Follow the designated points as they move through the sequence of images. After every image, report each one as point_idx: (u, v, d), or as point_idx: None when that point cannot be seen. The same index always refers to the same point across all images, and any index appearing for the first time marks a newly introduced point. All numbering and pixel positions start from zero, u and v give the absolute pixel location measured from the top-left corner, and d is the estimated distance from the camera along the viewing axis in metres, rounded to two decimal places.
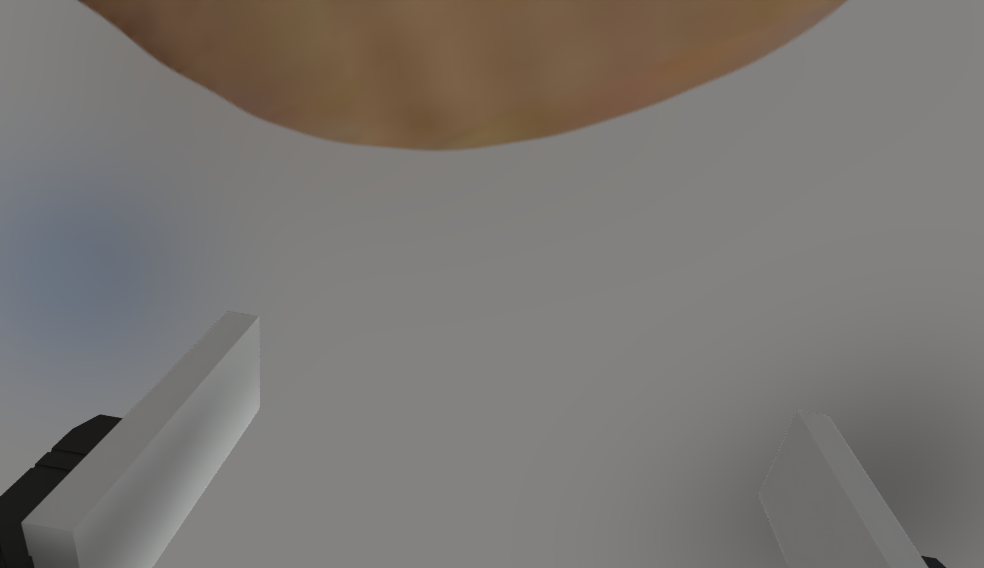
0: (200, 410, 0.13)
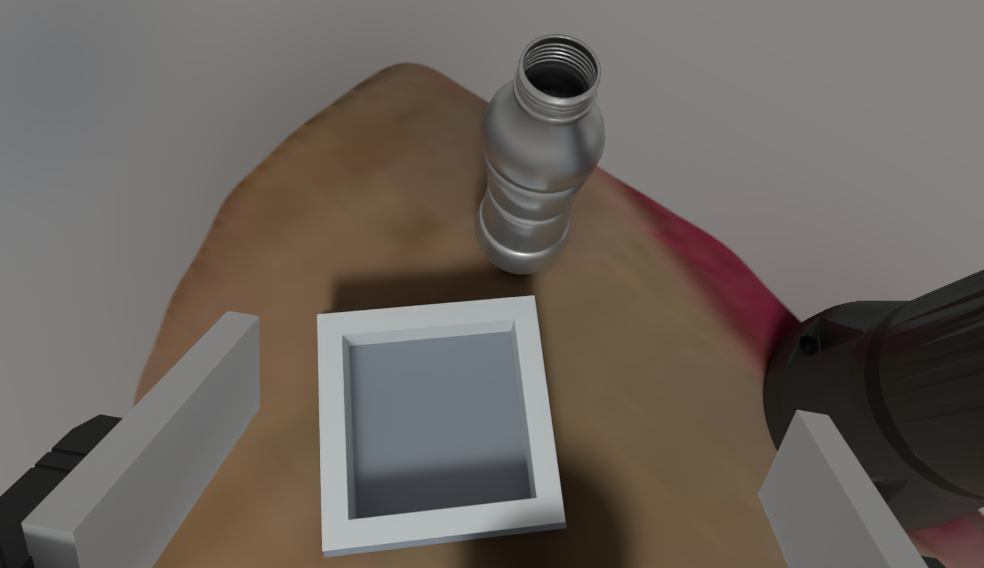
0: (200, 410, 0.13)
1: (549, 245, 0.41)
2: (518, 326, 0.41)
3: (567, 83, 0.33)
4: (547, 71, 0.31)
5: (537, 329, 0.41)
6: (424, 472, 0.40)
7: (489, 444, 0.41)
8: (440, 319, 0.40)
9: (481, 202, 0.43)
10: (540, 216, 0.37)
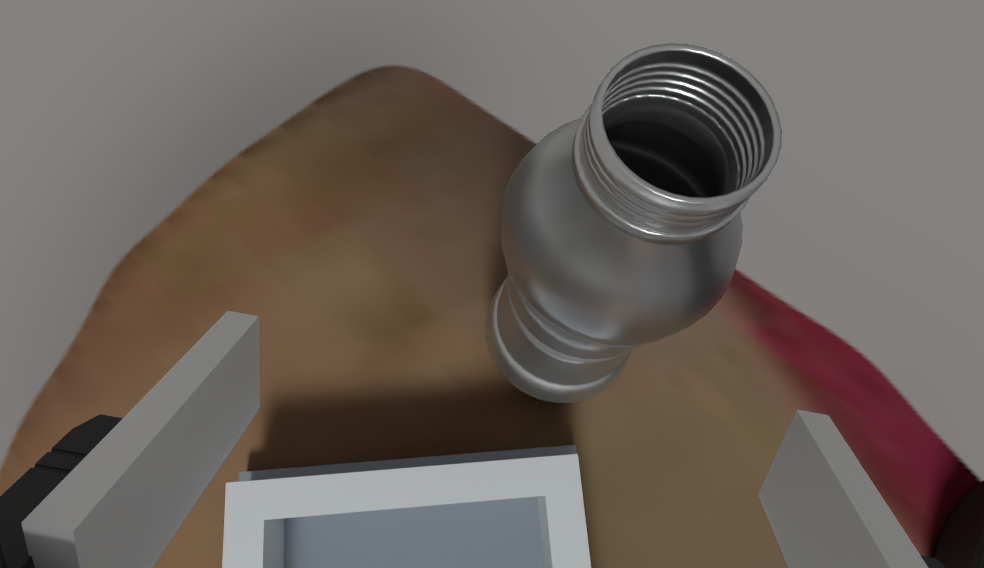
0: (200, 410, 0.13)
1: (604, 375, 0.25)
2: (551, 508, 0.25)
3: (668, 132, 0.17)
4: (641, 117, 0.15)
5: (582, 514, 0.25)
6: None
7: None
8: (425, 494, 0.25)
9: (496, 295, 0.27)
10: (600, 356, 0.21)
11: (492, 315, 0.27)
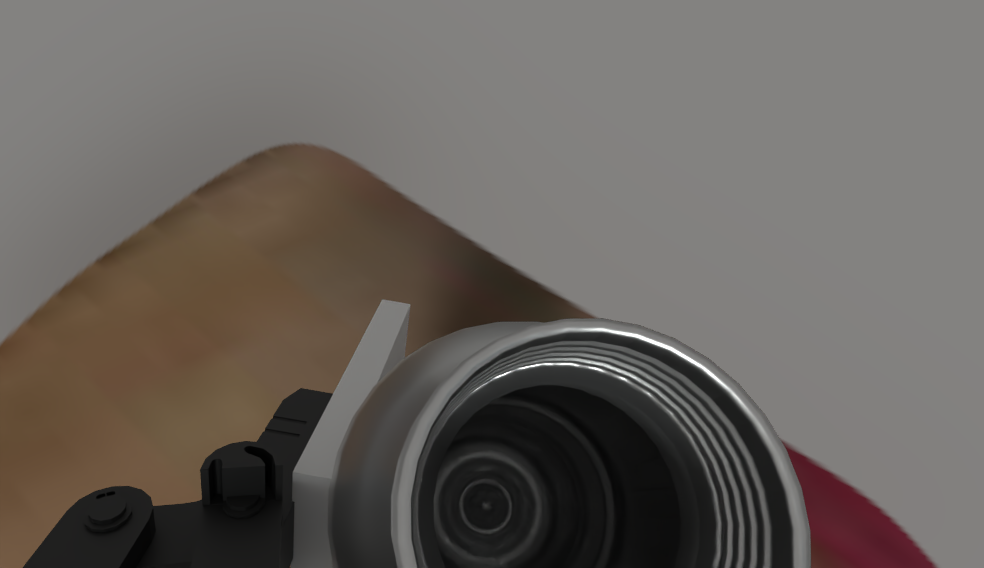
0: None
1: None
2: None
3: None
4: None
5: None
6: None
7: None
8: None
9: None
10: None
11: None
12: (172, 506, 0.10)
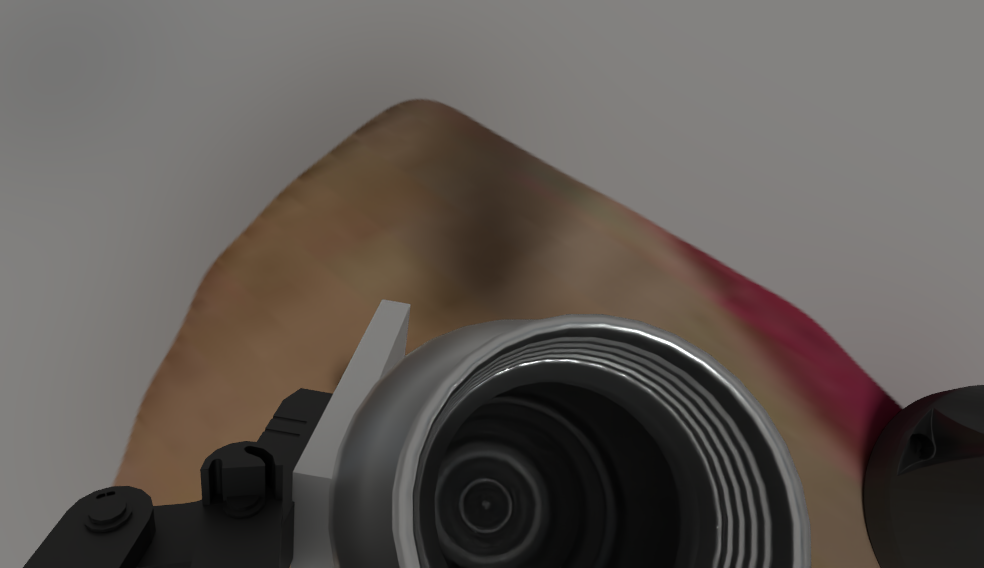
0: None
1: None
2: None
3: None
4: None
5: None
6: None
7: None
8: None
9: None
10: None
11: None
12: (172, 506, 0.10)
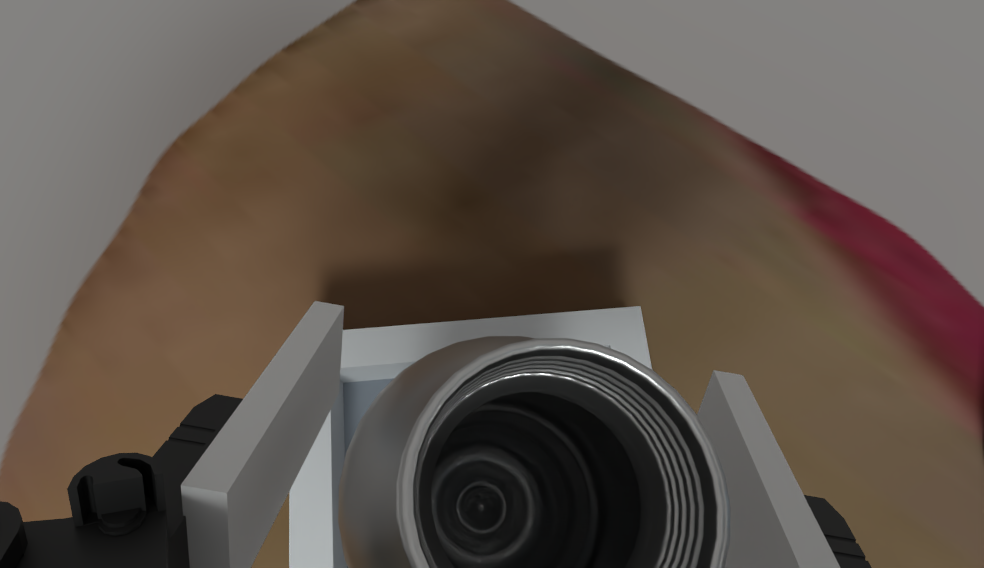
0: (304, 391, 0.14)
1: None
2: None
3: None
4: None
5: (648, 361, 0.25)
6: None
7: None
8: None
9: None
10: None
11: None
12: (51, 521, 0.10)
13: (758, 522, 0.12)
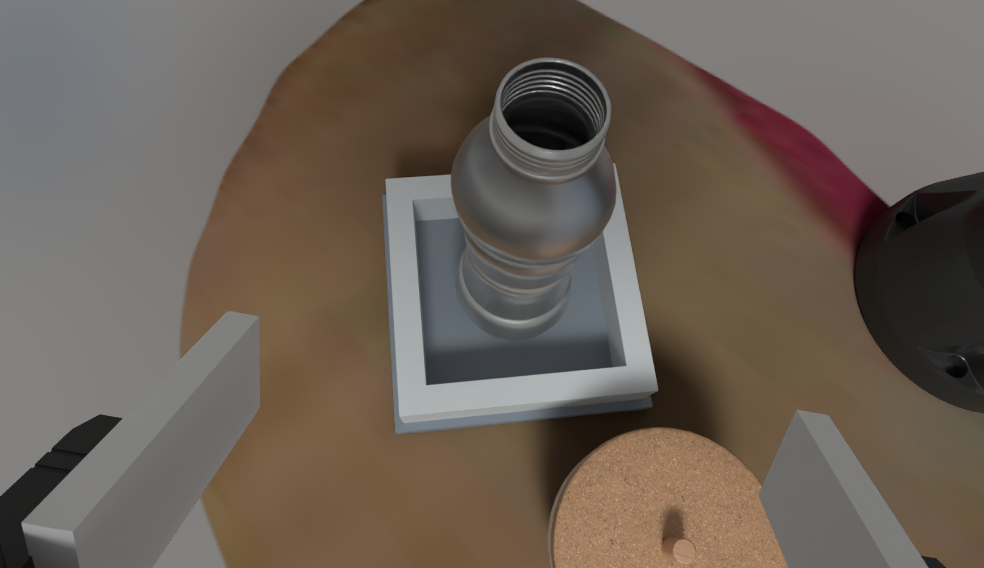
0: (200, 410, 0.13)
1: (545, 311, 0.33)
2: None
3: (566, 117, 0.25)
4: (537, 105, 0.22)
5: (620, 197, 0.38)
6: (499, 348, 0.38)
7: (567, 321, 0.38)
8: None
9: (462, 254, 0.35)
10: (532, 285, 0.28)
11: (459, 269, 0.34)
12: None
13: None
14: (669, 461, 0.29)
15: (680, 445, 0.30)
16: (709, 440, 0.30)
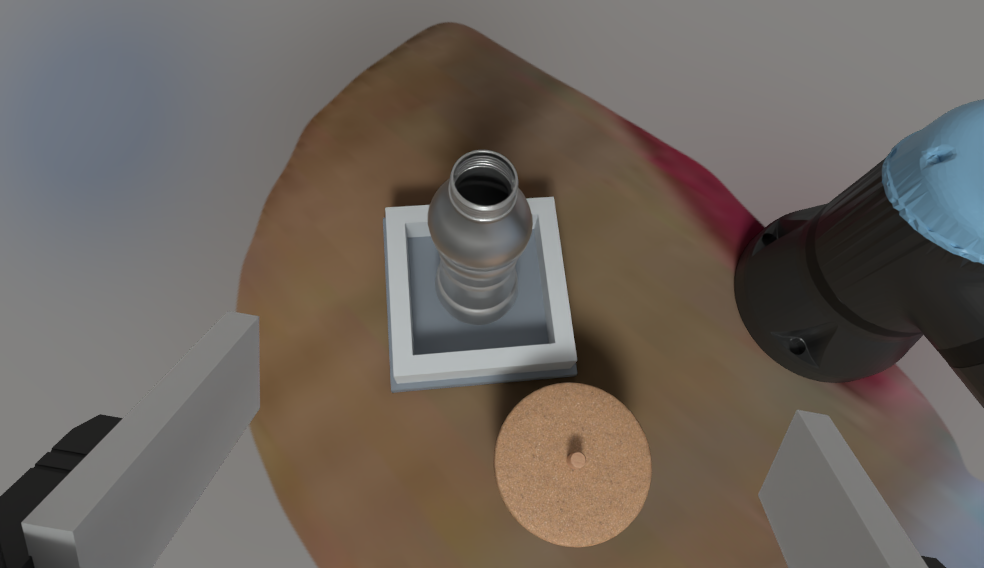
0: (200, 410, 0.13)
1: (497, 303, 0.47)
2: (541, 219, 0.52)
3: None
4: (479, 174, 0.37)
5: (556, 221, 0.52)
6: (467, 331, 0.52)
7: (517, 311, 0.53)
8: None
9: None
10: (482, 284, 0.42)
11: (437, 273, 0.49)
12: None
13: None
14: (575, 404, 0.43)
15: (583, 394, 0.44)
16: (603, 391, 0.44)
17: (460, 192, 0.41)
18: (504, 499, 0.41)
